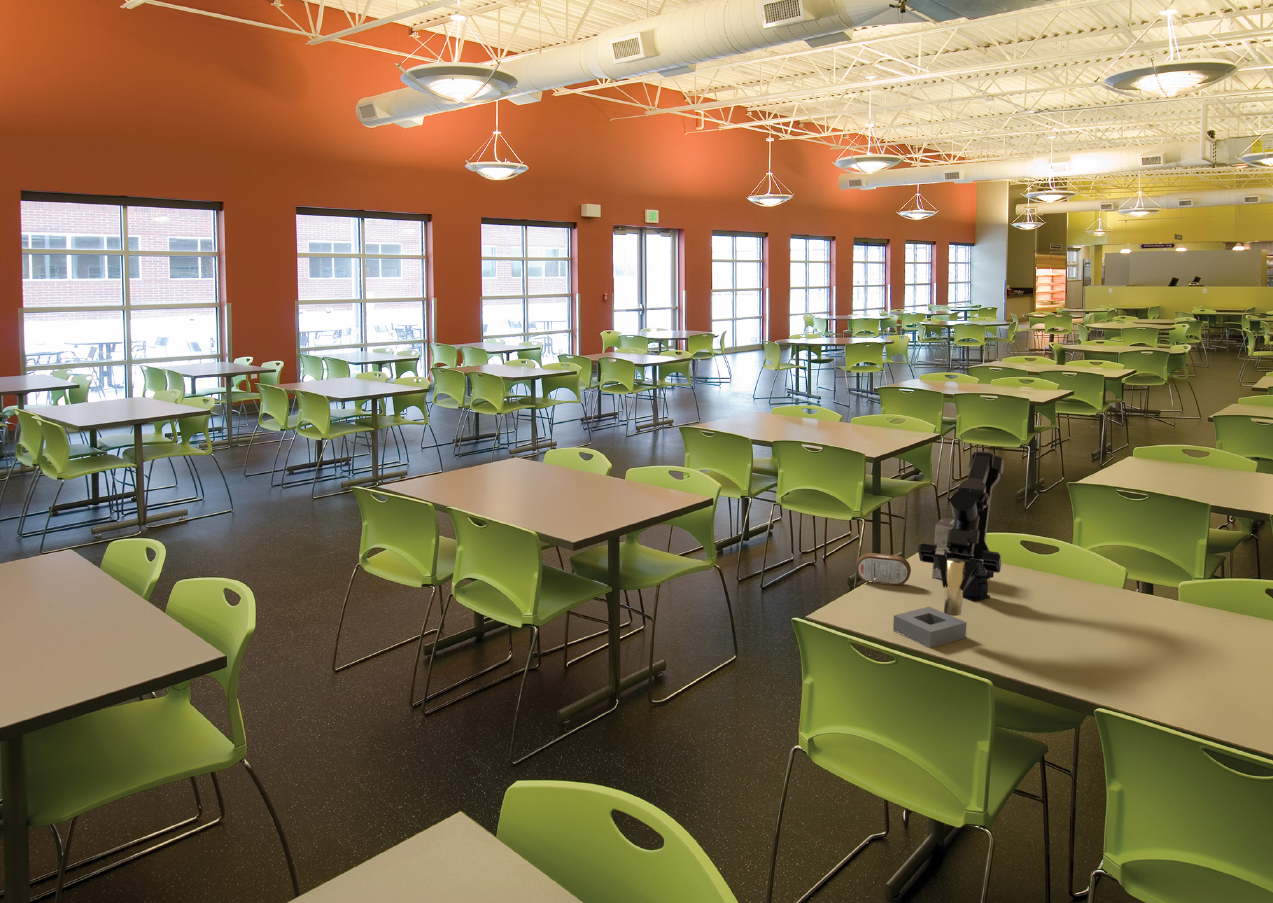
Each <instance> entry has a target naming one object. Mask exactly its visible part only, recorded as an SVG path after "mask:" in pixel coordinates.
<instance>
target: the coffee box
mask: <svg viewBox="0 0 1273 903" xmlns="http://www.w3.org/2000/svg"><path fill="white" fill-rule="evenodd" d="M953 523H954V518H952V517H951V518H947V517H941V518H940V519H939V520H938V522H936V523H935V527H934V529H935V530H934V540H933V541H934V543H933V544H937V548H939V549H945V550H946V551H948V548H947V537H948V530H949V529H952V528H953ZM947 560H948V559H947ZM931 569H932V572H931V578H935V579H940V580H942V577H941V571H940V568H939V567H936V566H935V563H932V568H931Z"/></svg>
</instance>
